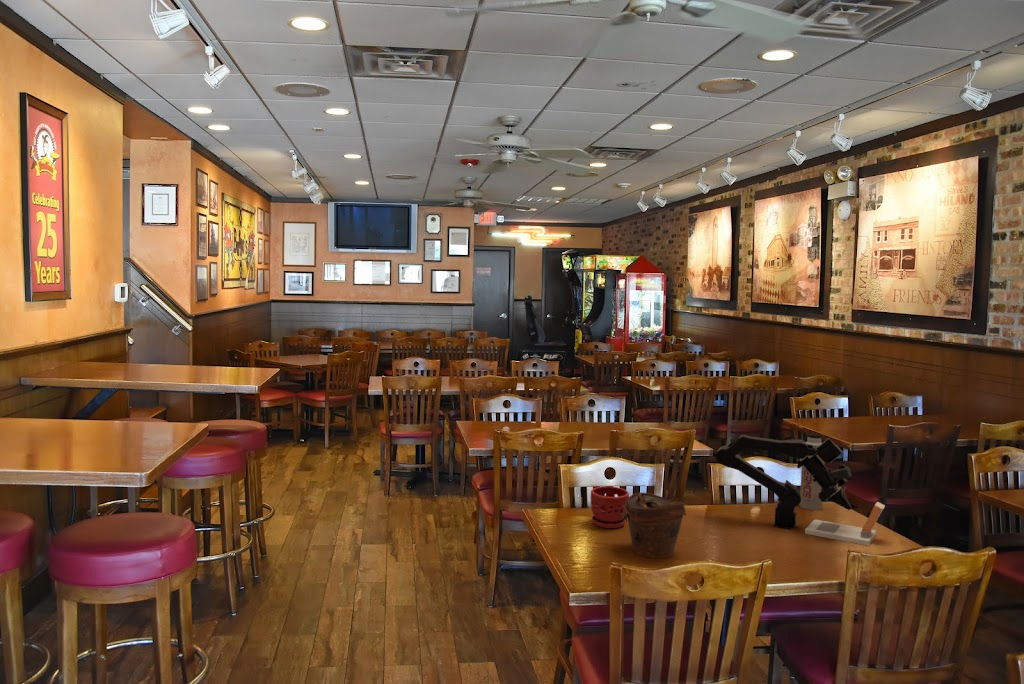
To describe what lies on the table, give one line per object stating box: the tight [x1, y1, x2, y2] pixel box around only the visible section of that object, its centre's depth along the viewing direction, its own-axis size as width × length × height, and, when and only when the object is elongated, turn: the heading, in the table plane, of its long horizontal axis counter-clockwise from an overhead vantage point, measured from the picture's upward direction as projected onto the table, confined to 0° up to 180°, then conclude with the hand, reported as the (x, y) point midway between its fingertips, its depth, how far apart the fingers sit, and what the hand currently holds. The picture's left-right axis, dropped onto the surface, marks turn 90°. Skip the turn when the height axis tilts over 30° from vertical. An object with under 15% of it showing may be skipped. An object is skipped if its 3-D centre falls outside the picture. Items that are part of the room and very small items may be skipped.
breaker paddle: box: [862, 501, 886, 535], centre depth 261 cm, size 3×6×11 cm, turn 147°
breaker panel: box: [804, 519, 877, 546], centre depth 267 cm, size 20×14×4 cm
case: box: [621, 491, 687, 559], centre depth 245 cm, size 18×20×18 cm
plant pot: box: [590, 485, 630, 529], centre depth 271 cm, size 13×13×12 cm
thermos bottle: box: [799, 433, 825, 511], centre depth 298 cm, size 8×8×28 cm
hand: (850, 509), depth 265 cm, fingers closed
